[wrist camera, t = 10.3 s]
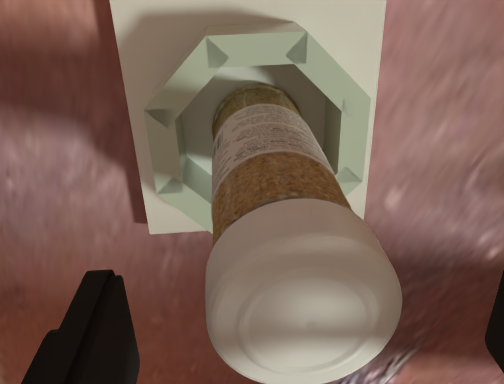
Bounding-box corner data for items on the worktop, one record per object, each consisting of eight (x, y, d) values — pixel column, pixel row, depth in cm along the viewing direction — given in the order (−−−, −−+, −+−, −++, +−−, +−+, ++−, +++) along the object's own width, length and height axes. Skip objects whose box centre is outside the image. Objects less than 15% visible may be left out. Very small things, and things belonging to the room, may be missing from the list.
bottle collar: (358, 211, 25) (381, 251, 22) (152, 224, 25) (141, 268, 21) (380, -16, 20) (415, -10, 16) (113, -5, 19) (90, 3, 16)
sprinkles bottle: (280, 179, 23) (348, 411, 11) (197, 151, 22) (176, 374, 10) (318, 99, 21) (449, 276, 9) (230, 64, 20) (251, 214, 8)
